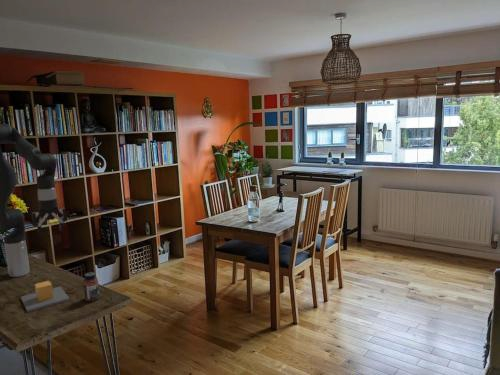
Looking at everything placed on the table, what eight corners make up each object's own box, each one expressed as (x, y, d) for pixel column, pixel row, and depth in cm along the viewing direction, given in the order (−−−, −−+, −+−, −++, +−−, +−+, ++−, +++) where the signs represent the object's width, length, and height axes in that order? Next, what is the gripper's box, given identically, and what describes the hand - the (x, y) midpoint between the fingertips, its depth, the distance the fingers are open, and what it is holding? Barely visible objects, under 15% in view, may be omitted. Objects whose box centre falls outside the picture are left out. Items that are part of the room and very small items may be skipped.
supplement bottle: (85, 297, 170) (82, 272, 168) (99, 294, 172) (97, 270, 170) (84, 303, 165) (82, 277, 163) (99, 300, 167) (97, 275, 165)
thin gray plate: (21, 298, 170) (19, 288, 170) (60, 288, 180) (59, 278, 179) (27, 312, 158) (25, 300, 157) (69, 300, 168) (68, 289, 167)
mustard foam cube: (36, 297, 169) (34, 284, 168) (50, 293, 173) (49, 280, 172) (39, 301, 165) (37, 288, 164) (53, 297, 168) (51, 284, 167)
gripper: (62, 194, 184) (65, 227, 187) (28, 198, 176) (32, 233, 179) (66, 197, 178) (69, 231, 181) (31, 201, 170) (35, 237, 173)
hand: (51, 232), depth 180 cm, fingers open, 8 cm apart
